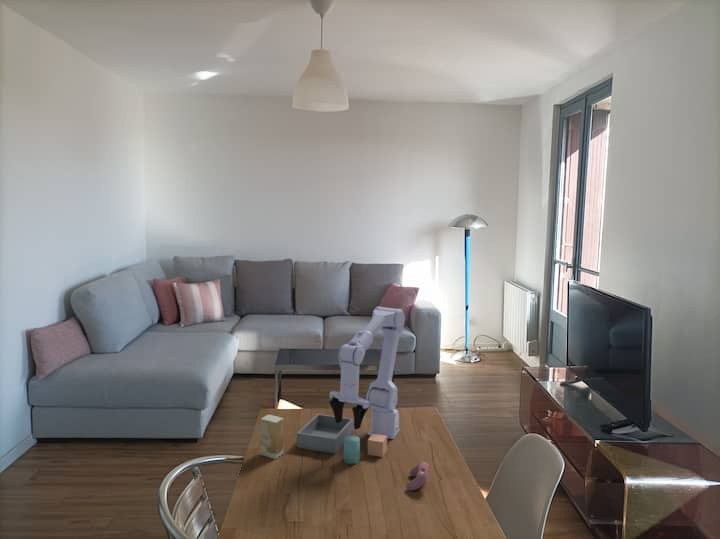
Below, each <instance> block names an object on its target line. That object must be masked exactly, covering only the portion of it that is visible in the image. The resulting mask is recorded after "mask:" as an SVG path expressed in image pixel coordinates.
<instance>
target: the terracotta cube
mask: <svg viewBox="0 0 720 539" xmlns="http://www.w3.org/2000/svg"><path fill="white" fill-rule="evenodd" d="M387 450H388V438H387V436H384V435H378V434H372V435H369V438H368V439H367V455H368V456H374V457H379V458H380V457H381V458H383V457H384V456H385V454H386V453H387Z"/></svg>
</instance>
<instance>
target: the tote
mask: <svg viewBox="0 0 720 539" xmlns="http://www.w3.org/2000/svg"><path fill="white" fill-rule="evenodd" d="M354 430H355V429H354V418H350V417H343V416H342V422H339V423H336V420H335V416H334V415H329V414H322V413H317V414H316V415H314V416H313V418H311V419H310V420H309V421H308V422H307V423H306V424H305V425H304V426H303V427H302V428H300V429H299V430H298V431H297V433H296V448H297V447H298V448H297V449H302V448H303V449H302V450H308V451H315V452H321V453H327V454H333V455H336V454H338V452H339V451H340V449H341V448H342V447H344V438H345V437H346V436H353V434H354Z"/></svg>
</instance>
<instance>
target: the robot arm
mask: <svg viewBox="0 0 720 539" xmlns="http://www.w3.org/2000/svg"><path fill="white" fill-rule="evenodd" d="M371 316H372V318H371V320H370V321H369V323H368V324H367V326H366V327H365V329H361V330H359V331H358V332H357V333H356V334H355V335H353V337H352V339H351V340H350V341H349V342H348V343H346V344H343V345H341V346H340V347H339V349H338V353H337V359H338V360H337V361H339V368H340V385H339V386H340V387H339V388H340V390H339V391H335V390H333V391H330V392H329V399H331V400H329V405H330V407H331V410H332V411H333V416H335V420H336V423H339V422H342V417H343V412H344V405H345V403H348V404H351V405H354V407H351V409H352V413H353V419H354V430H359V429H360V428H361V425H362V423H363V419H364V417H365V415H366V413H367V411H368V410H369V409H371V410H370V411H371V415H370V416H371V418H370V419H371V421H370V422H371V425H370V429H369V431H368V432H367V434H366V435H367V436H371V435H372V434H378V435H384V436H387V439H392V440H394V439H395V438H396V436H397V435H398V434H399V431H400V427H399V426H400V412H399V410H397V409H396V407H397V405H398V399H399V398H398V393H399V392H398V391H399V390H398V387H397V386H396V385H395V383H393V374H394V368H395V363H396V362H395V361H396V357H397V350H398V346H399V345H398V344H399V340H400V339H399V338H400V335H401V334H403V331H404V327H405V321H406V316H405V313H404V310H403V309H402V308H391V307H384V306H383V307H382V306H379V305H378V306H376V307H375V308H374V309H373V311H372V314H371ZM379 331H382V333H383V335H384V337H383V341H382V347H381V348H382V349H381V355H380V360H379V366H378V372H377V379H375V380H374V381H371V383H370V384H369V388H368V390H367V393H366V394H365V396H366V399H365V398H363V397H361V396H359V385H360V383H359V382H360V366H361V364H362V363H363V360H364V357H365V355H366V351H367V350H368V349H369V347H370V346H371V345H372V344H373V342H374V336H376V334H377V333H379Z"/></svg>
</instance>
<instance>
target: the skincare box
mask: <svg viewBox="0 0 720 539" xmlns="http://www.w3.org/2000/svg"><path fill="white" fill-rule="evenodd" d="M284 423H285V418H284V417H280V416H276V415H272V414H267V415H264V416H263V417H261V418H260V456H263V457H267V458H270V459H274V460H277V459H278V458H280V457H281V456H282V454H283V455H284V438H285V437H284V436H285V435H284V432H285V430H284V428H285V424H284ZM279 456H280V457H279ZM276 458H277V459H276Z"/></svg>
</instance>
